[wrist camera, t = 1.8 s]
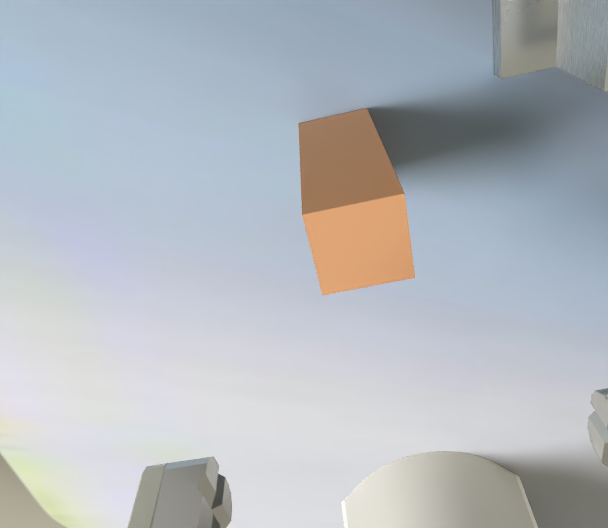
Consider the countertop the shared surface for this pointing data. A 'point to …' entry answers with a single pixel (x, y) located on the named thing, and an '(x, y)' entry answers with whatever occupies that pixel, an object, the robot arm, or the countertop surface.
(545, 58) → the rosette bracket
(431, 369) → the countertop surface
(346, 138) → the orange rectangular block
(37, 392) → the countertop surface
